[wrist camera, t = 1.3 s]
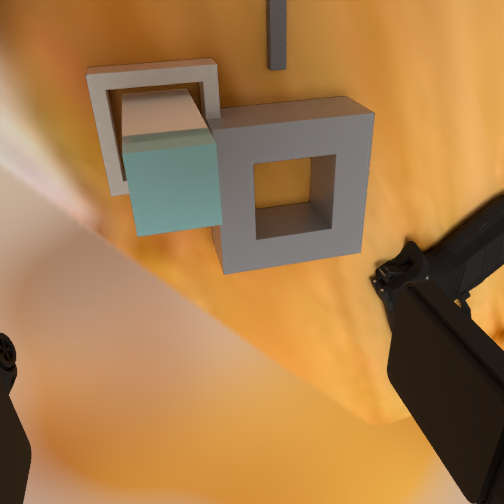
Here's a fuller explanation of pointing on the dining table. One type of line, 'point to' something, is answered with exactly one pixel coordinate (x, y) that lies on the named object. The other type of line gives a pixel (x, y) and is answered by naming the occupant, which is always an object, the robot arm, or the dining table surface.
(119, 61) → the dining table surface
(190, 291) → the dining table surface
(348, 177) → the port
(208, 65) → the grey square frame
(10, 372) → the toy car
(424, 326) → the robot arm
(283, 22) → the dark grey bar
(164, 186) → the plug
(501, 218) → the handgun
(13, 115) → the dining table surface
